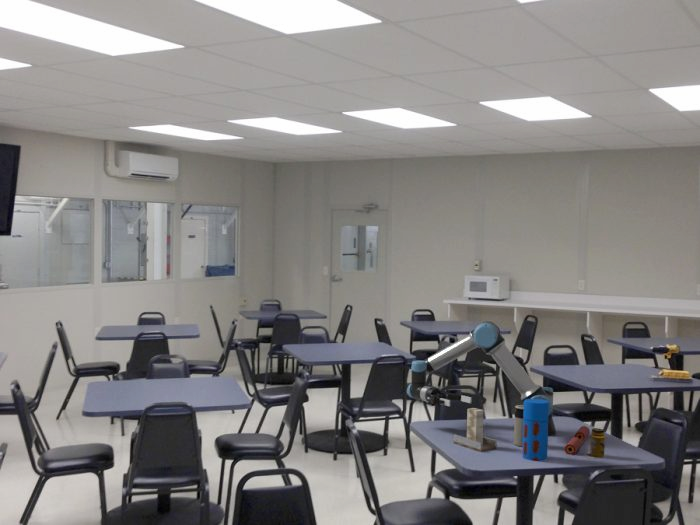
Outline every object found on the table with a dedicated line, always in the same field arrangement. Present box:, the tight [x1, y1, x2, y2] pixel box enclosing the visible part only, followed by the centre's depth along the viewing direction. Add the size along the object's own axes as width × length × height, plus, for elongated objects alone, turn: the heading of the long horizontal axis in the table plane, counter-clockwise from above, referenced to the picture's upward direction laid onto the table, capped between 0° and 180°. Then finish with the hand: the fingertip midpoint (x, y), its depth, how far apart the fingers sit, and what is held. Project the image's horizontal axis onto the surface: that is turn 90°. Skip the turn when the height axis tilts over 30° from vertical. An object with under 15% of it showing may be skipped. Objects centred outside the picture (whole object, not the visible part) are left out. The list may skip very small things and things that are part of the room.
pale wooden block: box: [466, 407, 485, 445], centre depth 358 cm, size 6×4×16 cm
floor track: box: [453, 434, 498, 453], centre depth 358 cm, size 18×10×4 cm, turn 34°
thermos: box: [522, 399, 549, 462], centre depth 340 cm, size 11×11×25 cm
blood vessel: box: [564, 425, 591, 456], centre depth 366 cm, size 42×5×5 cm, turn 155°
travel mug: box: [513, 404, 524, 447], centre depth 363 cm, size 8×8×18 cm
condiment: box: [583, 427, 608, 459], centre depth 346 cm, size 7×8×12 cm
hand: (460, 401), depth 366 cm, fingers open, 13 cm apart
